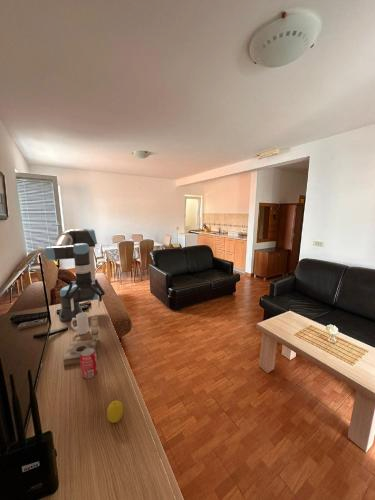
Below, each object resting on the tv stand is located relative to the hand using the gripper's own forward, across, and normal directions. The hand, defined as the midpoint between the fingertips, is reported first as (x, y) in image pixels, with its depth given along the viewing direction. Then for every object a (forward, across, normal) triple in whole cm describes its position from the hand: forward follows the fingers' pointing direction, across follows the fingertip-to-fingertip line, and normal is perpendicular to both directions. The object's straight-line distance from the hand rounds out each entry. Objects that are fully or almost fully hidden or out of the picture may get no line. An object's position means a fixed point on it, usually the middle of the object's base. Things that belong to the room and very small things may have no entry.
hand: (86, 308), depth 117 cm
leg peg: (+23, +3, +5) cm, 24 cm away
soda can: (+23, +4, -24) cm, 34 cm away
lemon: (+23, +16, -52) cm, 59 cm away
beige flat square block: (+23, -3, -8) cm, 24 cm away
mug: (+23, -7, +16) cm, 29 cm away
